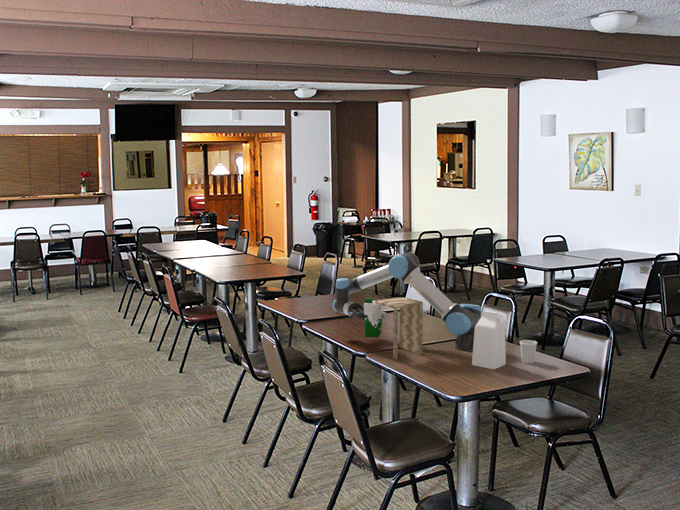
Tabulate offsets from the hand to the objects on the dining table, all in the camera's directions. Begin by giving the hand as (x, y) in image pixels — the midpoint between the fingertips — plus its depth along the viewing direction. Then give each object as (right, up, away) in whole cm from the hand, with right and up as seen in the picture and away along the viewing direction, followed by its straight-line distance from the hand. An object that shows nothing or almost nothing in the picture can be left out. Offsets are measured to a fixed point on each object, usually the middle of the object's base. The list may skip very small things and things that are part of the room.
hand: (379, 316), depth 363 cm
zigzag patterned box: (+9, -18, -4) cm, 21 cm away
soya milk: (-3, -11, +5) cm, 12 cm away
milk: (+51, -21, -25) cm, 61 cm away
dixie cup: (+71, -21, -21) cm, 77 cm away
